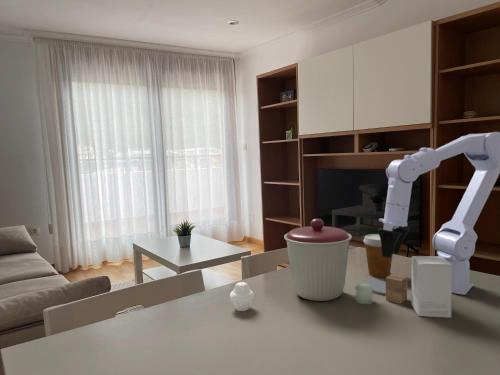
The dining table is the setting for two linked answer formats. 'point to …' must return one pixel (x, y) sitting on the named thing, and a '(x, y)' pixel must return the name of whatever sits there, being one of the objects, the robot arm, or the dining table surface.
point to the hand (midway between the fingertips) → (390, 255)
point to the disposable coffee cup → (376, 257)
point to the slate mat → (376, 286)
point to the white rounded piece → (241, 296)
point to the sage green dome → (364, 294)
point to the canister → (318, 260)
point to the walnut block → (396, 288)
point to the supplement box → (431, 286)
